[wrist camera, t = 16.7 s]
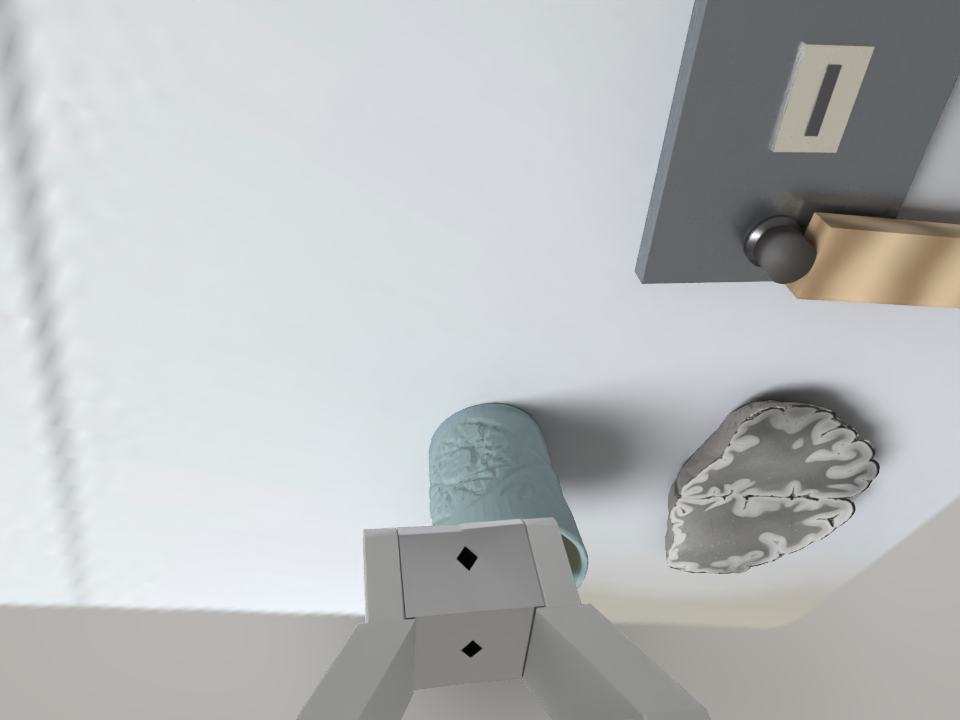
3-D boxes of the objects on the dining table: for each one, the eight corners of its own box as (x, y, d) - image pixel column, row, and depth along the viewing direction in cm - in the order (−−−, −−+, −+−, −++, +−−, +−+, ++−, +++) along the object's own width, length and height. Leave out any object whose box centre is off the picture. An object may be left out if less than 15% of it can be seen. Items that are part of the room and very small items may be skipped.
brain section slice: (798, 546, 74) (814, 572, 71) (630, 547, 70) (641, 574, 68) (901, 385, 62) (924, 410, 60) (707, 375, 58) (723, 401, 56)
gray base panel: (757, -281, 34) (776, -282, 33) (1073, -248, 37) (1104, -247, 35) (634, 271, 51) (643, 286, 50) (857, 267, 54) (872, 282, 52)
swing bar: (741, 279, 50) (754, 296, 49) (770, 208, 47) (785, 224, 46) (965, 293, 54) (984, 309, 52) (1005, 228, 51) (1026, 243, 49)
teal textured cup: (536, 489, 63) (572, 619, 54) (410, 493, 61) (425, 629, 52) (558, 392, 57) (603, 519, 48) (419, 393, 55) (437, 526, 46)
